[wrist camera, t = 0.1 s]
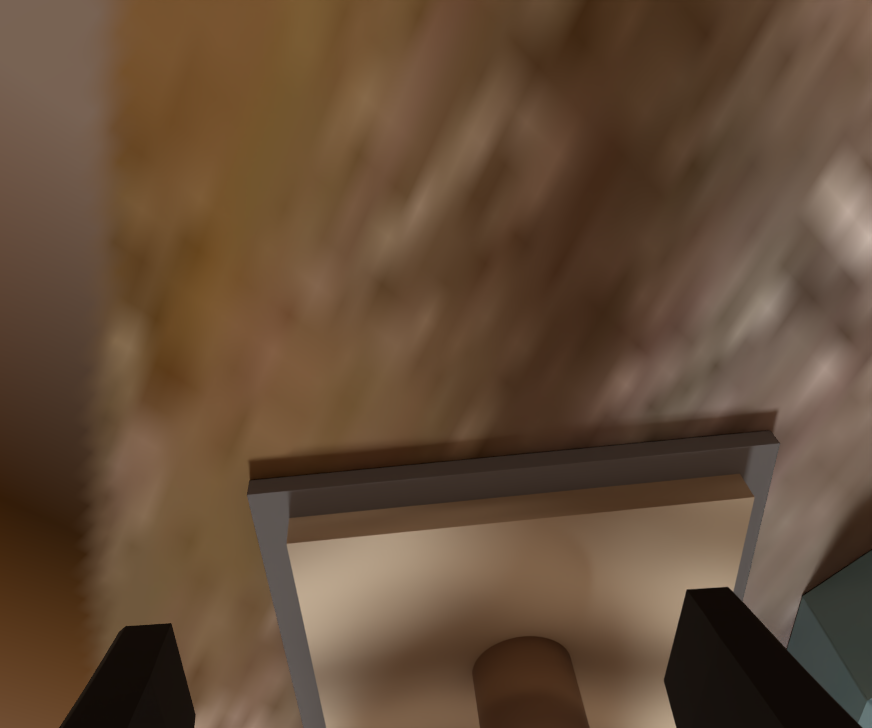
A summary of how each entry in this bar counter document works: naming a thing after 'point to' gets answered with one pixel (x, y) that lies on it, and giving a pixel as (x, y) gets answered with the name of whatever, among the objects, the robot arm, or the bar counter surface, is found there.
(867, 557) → the dish
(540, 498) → the lid
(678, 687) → the robot arm
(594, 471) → the tray
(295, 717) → the bar counter surface
